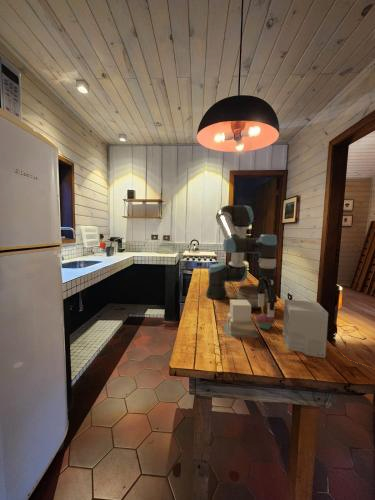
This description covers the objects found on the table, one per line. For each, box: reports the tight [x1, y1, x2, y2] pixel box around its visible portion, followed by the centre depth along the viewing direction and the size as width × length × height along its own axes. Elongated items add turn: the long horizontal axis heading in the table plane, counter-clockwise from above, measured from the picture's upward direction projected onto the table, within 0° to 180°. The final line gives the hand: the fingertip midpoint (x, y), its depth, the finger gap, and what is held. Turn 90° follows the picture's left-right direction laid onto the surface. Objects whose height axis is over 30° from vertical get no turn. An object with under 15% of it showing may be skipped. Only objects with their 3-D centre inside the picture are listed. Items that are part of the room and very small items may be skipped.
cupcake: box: [255, 306, 275, 330], centre depth 104 cm, size 9×8×12 cm
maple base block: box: [226, 312, 255, 335], centre depth 101 cm, size 10×10×6 cm
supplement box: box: [282, 299, 329, 359], centre depth 88 cm, size 13×13×18 cm
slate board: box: [222, 322, 260, 338], centre depth 101 cm, size 14×14×1 cm
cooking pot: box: [231, 284, 269, 311], centre depth 133 cm, size 25×19×12 cm
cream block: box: [229, 299, 252, 321], centre depth 100 cm, size 8×8×7 cm
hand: (265, 311), depth 104 cm, fingers open, 13 cm apart
